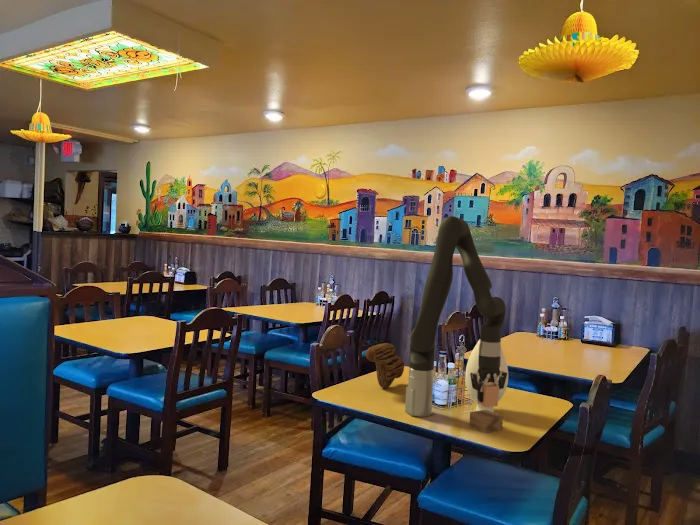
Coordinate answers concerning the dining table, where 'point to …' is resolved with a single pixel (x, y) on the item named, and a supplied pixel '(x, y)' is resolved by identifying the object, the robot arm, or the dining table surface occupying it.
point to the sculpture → (385, 363)
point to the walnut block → (486, 421)
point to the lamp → (472, 368)
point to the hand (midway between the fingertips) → (487, 400)
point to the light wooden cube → (490, 395)
